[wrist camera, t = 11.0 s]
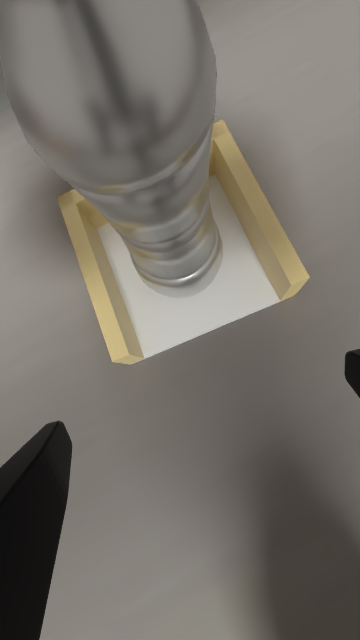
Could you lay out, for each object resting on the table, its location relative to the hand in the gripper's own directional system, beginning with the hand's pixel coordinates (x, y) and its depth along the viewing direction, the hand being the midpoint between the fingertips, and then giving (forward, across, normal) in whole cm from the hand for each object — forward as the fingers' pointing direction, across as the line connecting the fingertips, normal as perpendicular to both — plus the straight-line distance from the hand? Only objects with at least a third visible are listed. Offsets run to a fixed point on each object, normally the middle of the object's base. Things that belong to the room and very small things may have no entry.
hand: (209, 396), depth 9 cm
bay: (+16, -2, -1) cm, 16 cm away
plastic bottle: (+16, -2, -1) cm, 16 cm away
